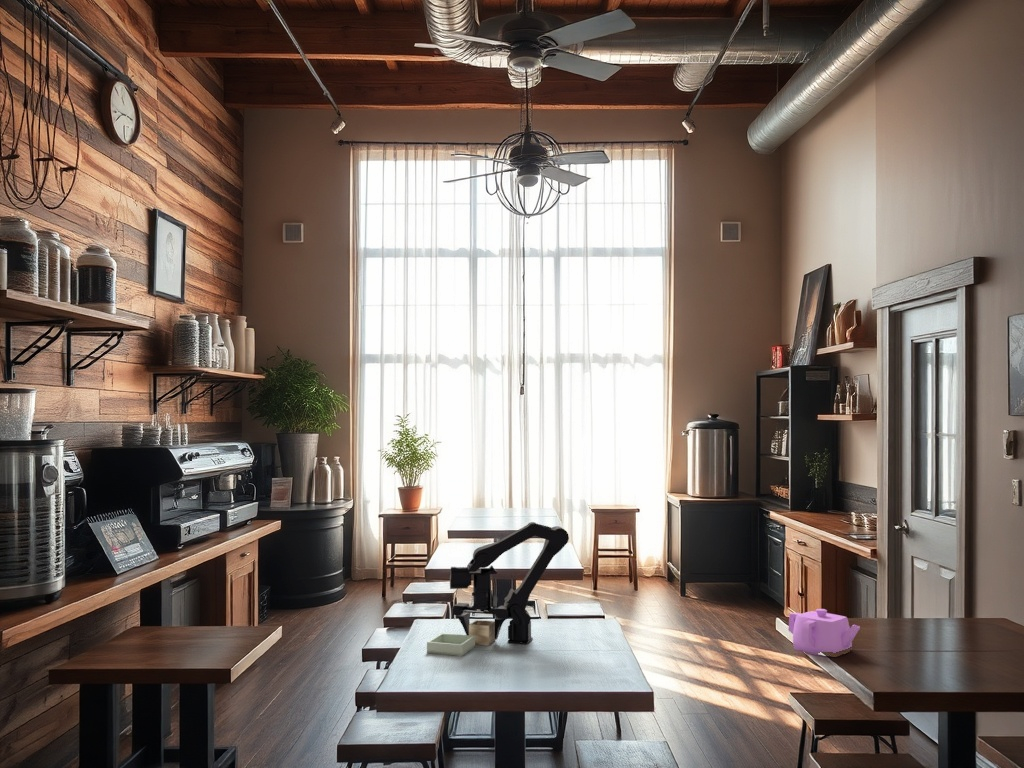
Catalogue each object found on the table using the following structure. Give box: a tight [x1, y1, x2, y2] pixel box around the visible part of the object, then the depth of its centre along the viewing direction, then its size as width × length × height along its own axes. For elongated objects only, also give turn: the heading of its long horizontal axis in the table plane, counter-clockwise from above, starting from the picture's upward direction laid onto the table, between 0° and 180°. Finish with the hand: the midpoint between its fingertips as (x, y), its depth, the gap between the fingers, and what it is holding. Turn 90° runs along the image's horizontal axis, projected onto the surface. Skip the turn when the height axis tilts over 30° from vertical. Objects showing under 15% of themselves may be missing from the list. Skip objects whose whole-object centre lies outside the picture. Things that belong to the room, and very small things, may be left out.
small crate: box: [469, 619, 496, 647], centre depth 257 cm, size 6×6×6 cm
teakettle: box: [788, 608, 861, 656], centre depth 247 cm, size 17×17×12 cm
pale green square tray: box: [426, 633, 476, 657], centre depth 249 cm, size 11×11×3 cm
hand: (482, 638), depth 257 cm, fingers open, 9 cm apart
